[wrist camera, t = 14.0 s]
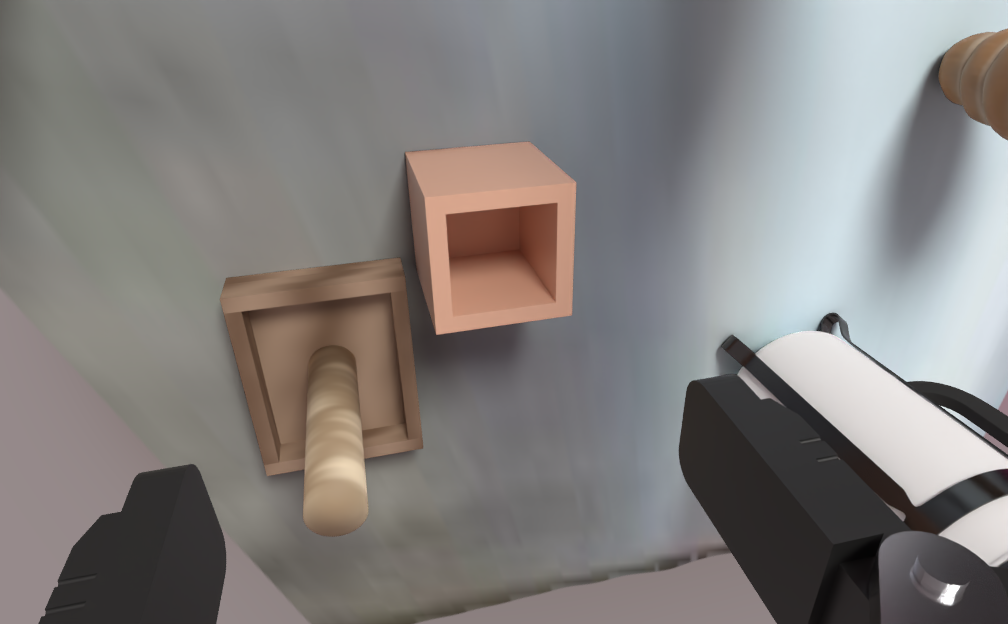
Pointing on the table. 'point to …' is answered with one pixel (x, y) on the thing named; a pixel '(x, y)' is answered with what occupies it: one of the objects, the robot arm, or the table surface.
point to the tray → (310, 326)
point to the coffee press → (894, 433)
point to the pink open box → (492, 235)
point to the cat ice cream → (979, 78)
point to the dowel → (334, 445)
